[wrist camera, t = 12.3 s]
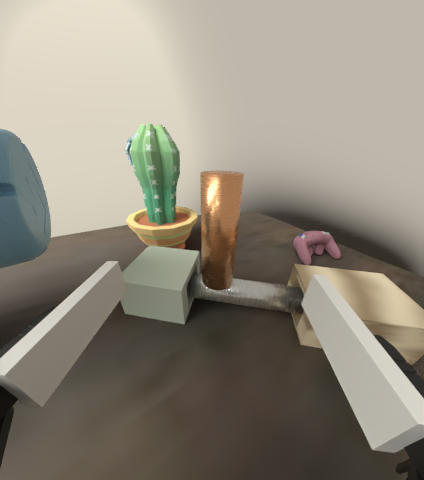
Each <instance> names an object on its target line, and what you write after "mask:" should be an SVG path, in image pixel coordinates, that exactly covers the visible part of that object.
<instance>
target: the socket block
mask: <svg viewBox="0 0 424 480" xmlns="http://www.w3.org/2000/svg"><path fill="white" fill-rule="evenodd" d="M192 273H199V274H200V251H193V250H184V249H176V248H167V247H158V246H148V247H147V248H146V249H145V250H144V251H143V252H142V253H141V254H140V255H139V256H138V257H137V258H136V259H135V260H134V261H133V262H132V263H131V264H130V265H129V266H128V267H127V268H126V269H125V270H124V271H123V272H122V276H123V279H124V282H125V285H126V289H127V291H126V293H125V294H124V296H123V297H122V298H121V300H120V301H121V304H122V307H123V310H124V313H125V314H129V315H135V316H140V317H146V318H151V319H157V320H162V321H168V322H173V323H179V324H184V325H185V322H186V319H187V316H188V313H189V310H190V308H191V305H192V302H193V299H194V298H192V297H187V284H188V282H189V279H190V277H191V275H192Z"/></svg>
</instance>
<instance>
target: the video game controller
mask: <svg viewBox="0 0 424 480" xmlns="http://www.w3.org/2000/svg"><path fill="white" fill-rule="evenodd" d="M293 244H294V247H295V249H296V251H297V254H298V256H299V258H300V260H301V261H302V262H303V263H304V264H305V265H310V264H311V255H312V254H313V253H314V254H316V255H321V254H322V253H323V250H324V249H325V250H326V251H327V252H328V254H329V255H330V256H331V257H333V258H334V259H339V258H340V256H341V252H340V250H339V248H338V247H337V245H336V243H335V242H334V240H333V237H332V236H331V235H329V233H328V232H327V233H326V232H321V231H309V232H305V233H303V234H301V235H299V236H297V237H295V239H294V242H293ZM313 244H314V245H313ZM310 245H313V248H311V247H310Z"/></svg>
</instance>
